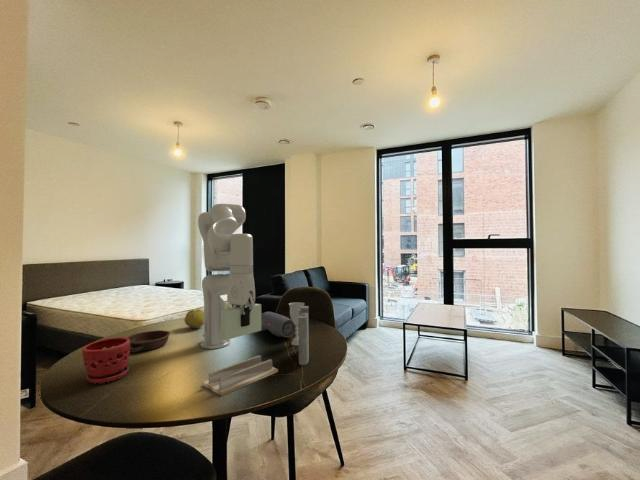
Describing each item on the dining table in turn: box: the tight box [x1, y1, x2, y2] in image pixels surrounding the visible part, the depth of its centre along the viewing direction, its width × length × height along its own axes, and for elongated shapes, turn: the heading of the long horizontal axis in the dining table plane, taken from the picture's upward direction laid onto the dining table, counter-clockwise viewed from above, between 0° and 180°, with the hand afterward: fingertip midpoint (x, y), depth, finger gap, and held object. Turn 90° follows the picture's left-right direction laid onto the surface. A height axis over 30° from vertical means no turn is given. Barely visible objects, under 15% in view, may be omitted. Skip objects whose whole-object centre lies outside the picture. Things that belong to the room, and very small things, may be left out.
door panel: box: [221, 303, 262, 340], centre depth 101 cm, size 3×14×9 cm, turn 140°
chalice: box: [288, 301, 305, 346], centre depth 136 cm, size 7×7×18 cm
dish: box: [126, 329, 171, 353], centre depth 135 cm, size 18×22×5 cm
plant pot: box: [82, 337, 131, 384], centre depth 102 cm, size 13×13×12 cm
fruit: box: [184, 308, 204, 329], centre depth 164 cm, size 11×12×10 cm
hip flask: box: [298, 305, 310, 366], centre depth 119 cm, size 16×4×20 cm, turn 3°
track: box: [202, 355, 279, 397], centre depth 101 cm, size 11×22×4 cm, turn 140°
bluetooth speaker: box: [261, 311, 296, 338], centre depth 151 cm, size 23×9×10 cm, turn 36°
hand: (242, 324), depth 101 cm, fingers closed on door panel, 3 cm apart
